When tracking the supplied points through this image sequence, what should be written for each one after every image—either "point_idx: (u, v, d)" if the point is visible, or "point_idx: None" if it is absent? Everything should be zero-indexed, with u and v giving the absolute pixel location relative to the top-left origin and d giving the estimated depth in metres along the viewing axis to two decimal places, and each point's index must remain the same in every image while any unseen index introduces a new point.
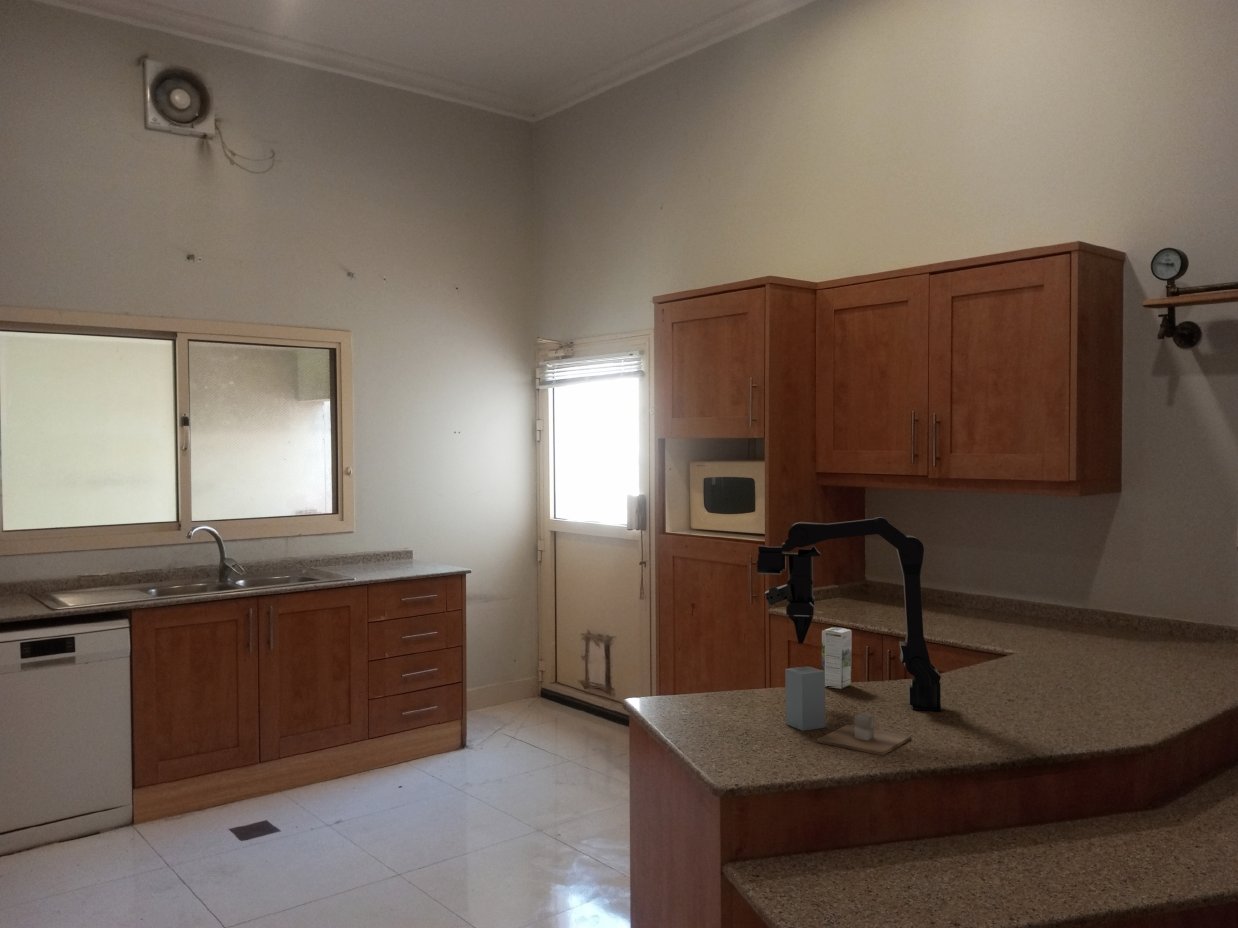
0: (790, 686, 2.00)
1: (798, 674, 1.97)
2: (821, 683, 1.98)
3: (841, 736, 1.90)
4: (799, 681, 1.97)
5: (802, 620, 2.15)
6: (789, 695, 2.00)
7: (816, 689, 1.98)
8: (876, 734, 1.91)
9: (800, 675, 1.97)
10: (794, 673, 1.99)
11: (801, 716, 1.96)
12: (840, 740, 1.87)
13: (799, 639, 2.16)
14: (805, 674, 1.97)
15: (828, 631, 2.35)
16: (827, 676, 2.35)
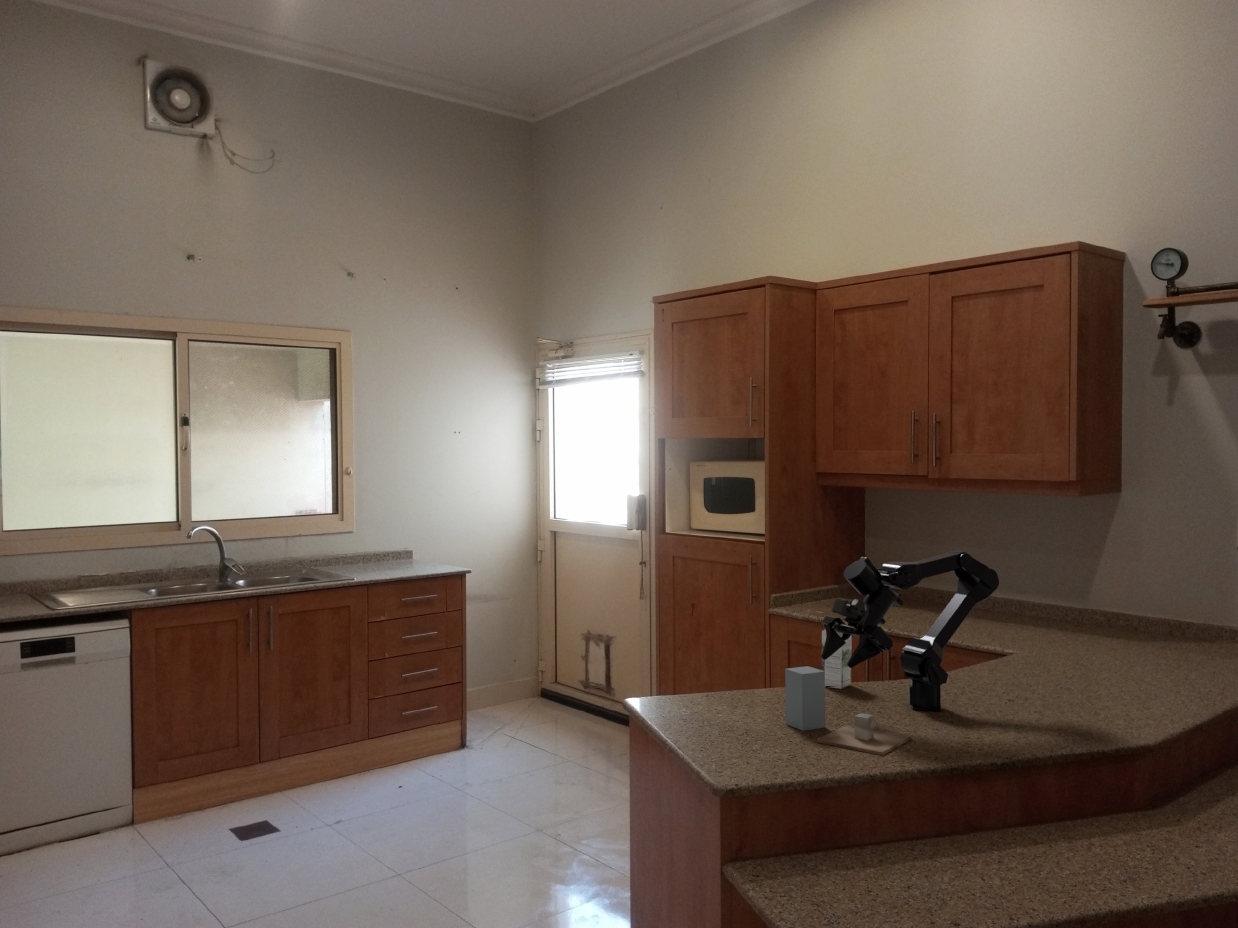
0: (790, 686, 2.00)
1: (798, 674, 1.97)
2: (821, 683, 1.98)
3: (841, 736, 1.90)
4: (799, 681, 1.97)
5: (867, 648, 2.01)
6: (789, 695, 2.00)
7: (816, 689, 1.98)
8: (876, 734, 1.91)
9: (800, 675, 1.97)
10: (794, 673, 1.99)
11: (801, 716, 1.96)
12: (840, 740, 1.87)
13: (852, 662, 2.00)
14: (805, 674, 1.97)
15: None
16: (827, 676, 2.35)
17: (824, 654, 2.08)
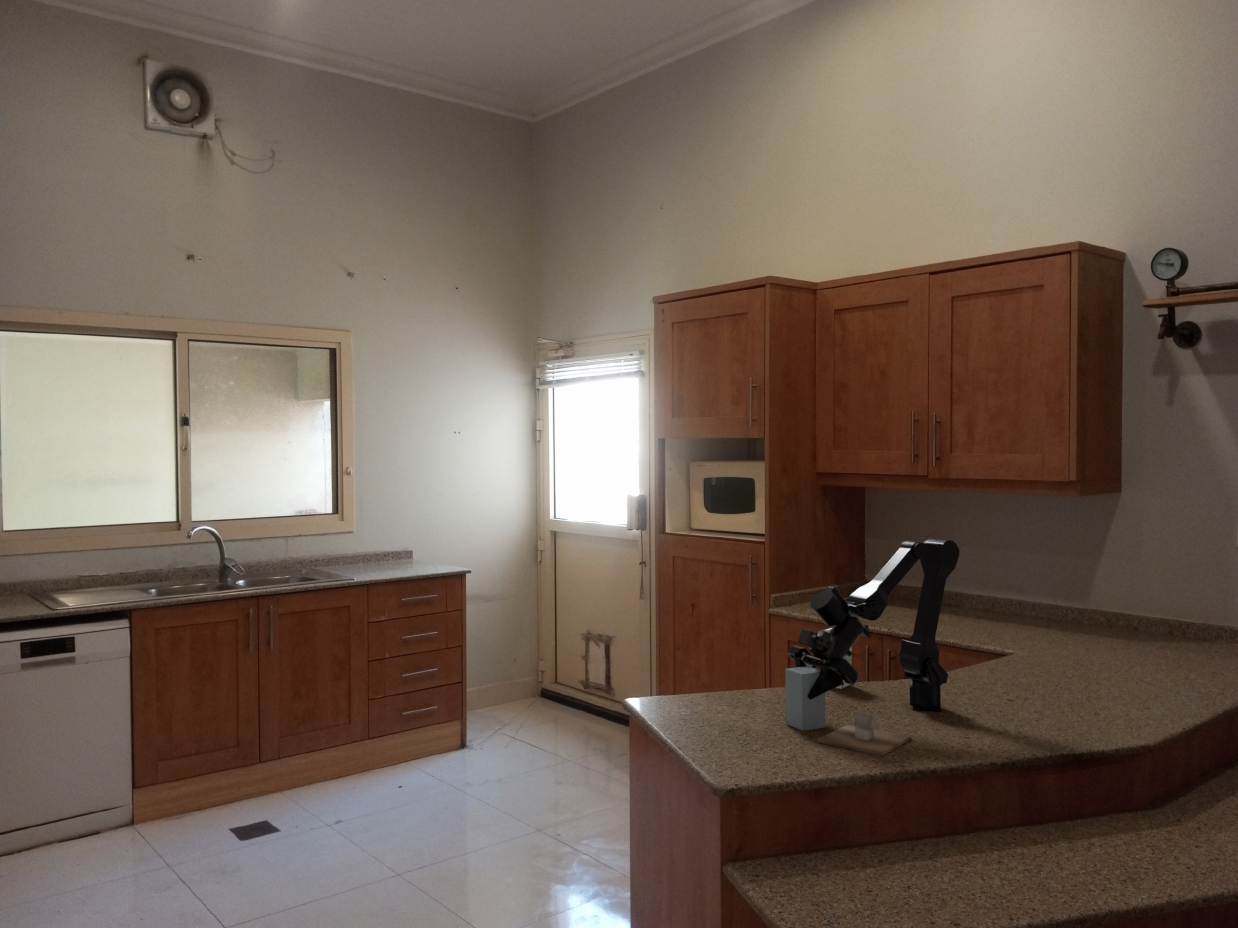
0: (790, 686, 2.00)
1: (798, 674, 1.97)
2: None
3: (841, 736, 1.90)
4: (799, 681, 1.97)
5: (828, 680, 1.97)
6: (789, 695, 2.00)
7: None
8: (876, 734, 1.91)
9: (800, 675, 1.97)
10: (794, 673, 1.98)
11: (801, 716, 1.96)
12: (840, 740, 1.87)
13: (812, 694, 1.96)
14: (805, 674, 1.97)
15: (828, 631, 2.35)
16: None
17: None
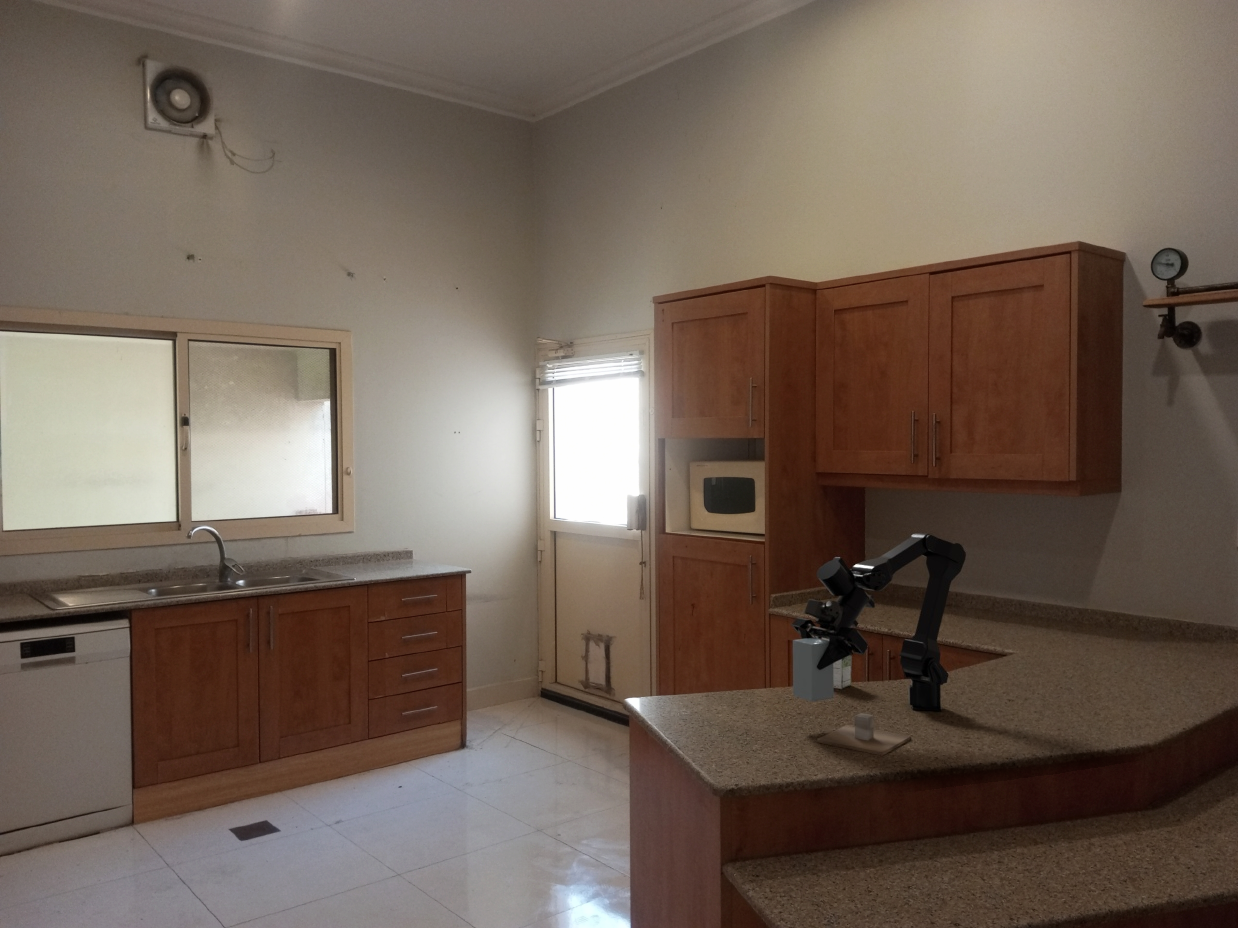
0: (798, 657, 1.97)
1: (807, 645, 1.95)
2: None
3: (841, 736, 1.90)
4: (808, 652, 1.95)
5: (837, 650, 1.95)
6: (797, 667, 1.98)
7: None
8: (876, 734, 1.91)
9: (809, 646, 1.94)
10: (803, 644, 1.96)
11: (810, 687, 1.94)
12: (840, 740, 1.87)
13: (821, 665, 1.94)
14: (814, 644, 1.94)
15: None
16: None
17: None
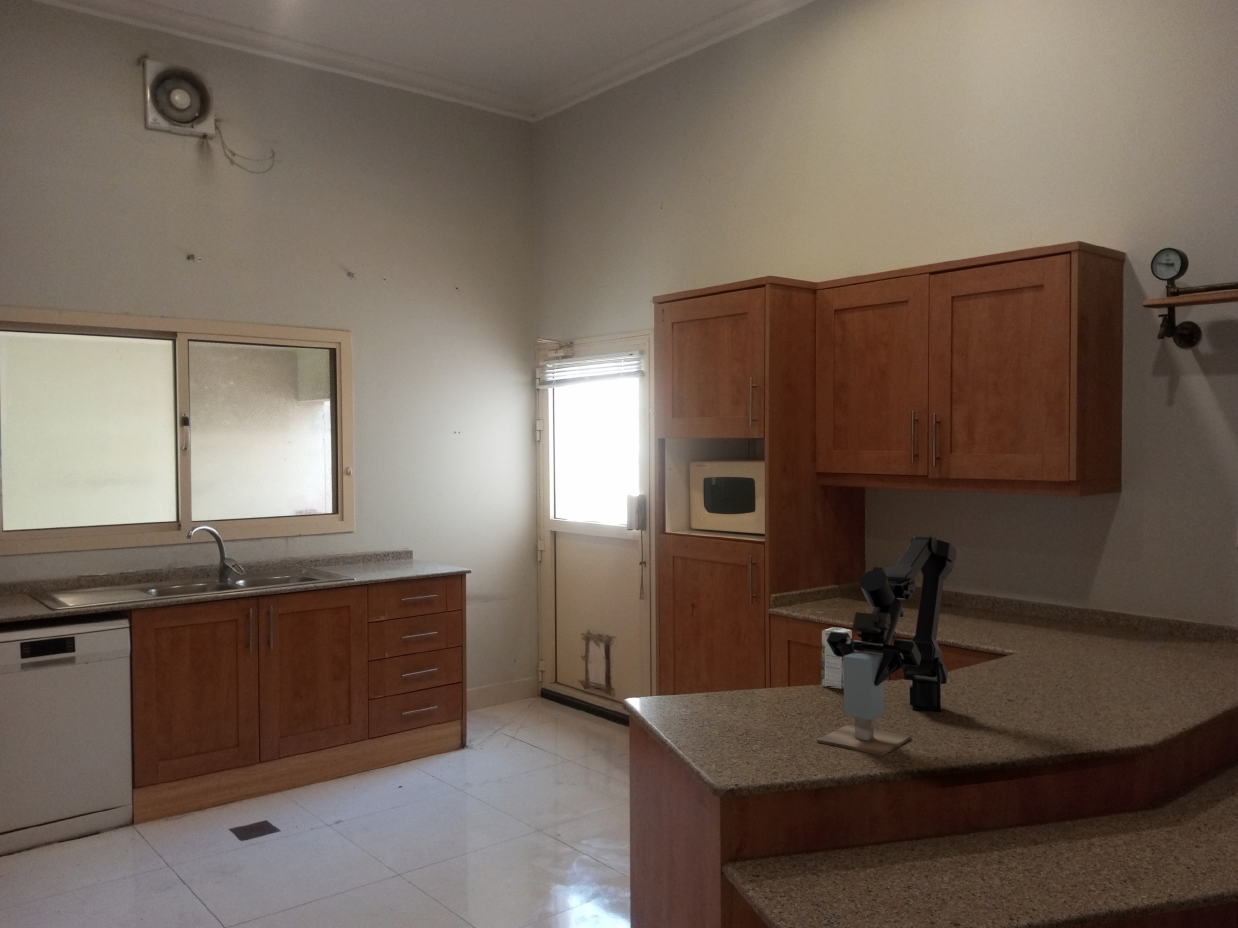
0: (851, 674, 1.87)
1: (865, 660, 1.85)
2: None
3: (841, 736, 1.90)
4: (867, 668, 1.85)
5: (890, 663, 1.88)
6: (850, 684, 1.87)
7: None
8: (876, 734, 1.91)
9: (868, 661, 1.85)
10: (858, 660, 1.86)
11: (870, 705, 1.85)
12: (840, 740, 1.87)
13: (878, 680, 1.86)
14: (872, 660, 1.85)
15: (828, 631, 2.35)
16: (827, 676, 2.35)
17: None
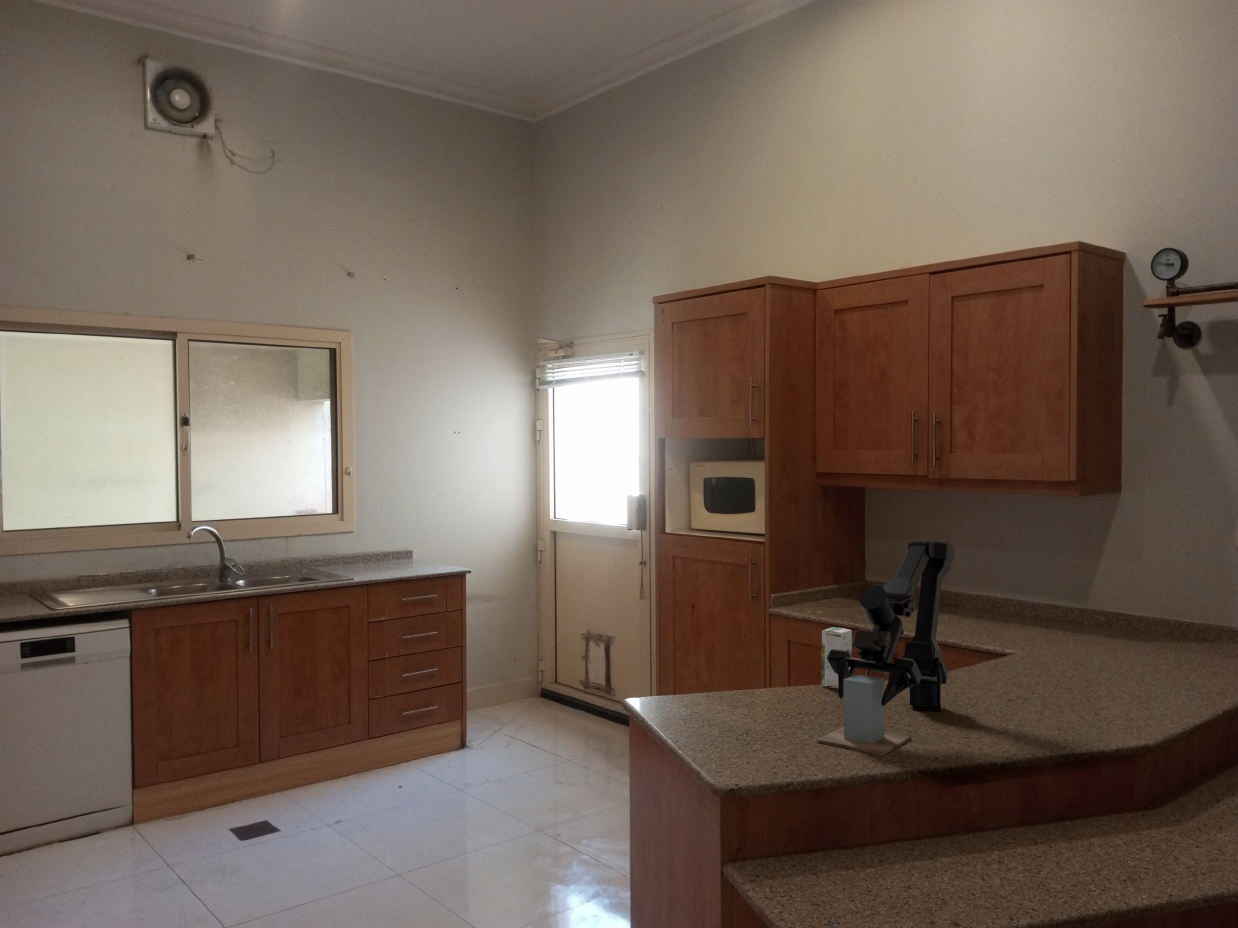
0: (852, 697, 1.87)
1: (865, 684, 1.85)
2: (882, 691, 1.88)
3: (841, 736, 1.90)
4: (867, 691, 1.85)
5: (896, 683, 1.87)
6: (850, 707, 1.87)
7: (879, 698, 1.87)
8: None
9: (868, 685, 1.85)
10: (858, 683, 1.86)
11: (870, 728, 1.85)
12: (840, 740, 1.87)
13: (885, 700, 1.85)
14: (873, 683, 1.85)
15: (828, 631, 2.35)
16: (827, 676, 2.35)
17: (841, 692, 1.91)
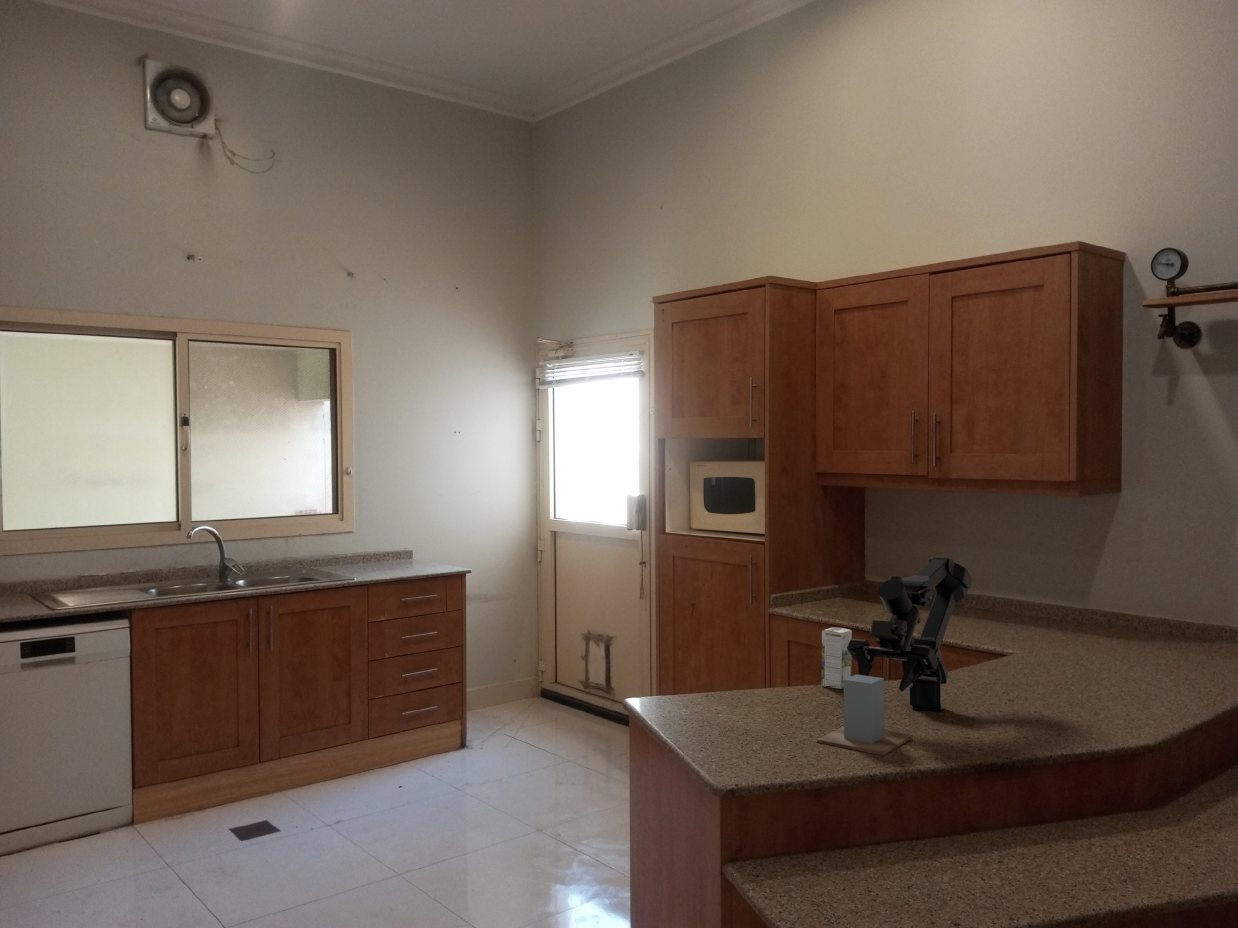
0: (852, 697, 1.87)
1: (865, 684, 1.85)
2: (882, 691, 1.88)
3: (841, 736, 1.90)
4: (867, 691, 1.85)
5: (914, 669, 1.95)
6: (850, 707, 1.87)
7: (879, 698, 1.87)
8: None
9: (868, 685, 1.85)
10: (858, 683, 1.86)
11: (870, 728, 1.85)
12: (840, 740, 1.87)
13: (903, 686, 1.93)
14: (873, 683, 1.85)
15: (828, 631, 2.35)
16: (827, 676, 2.35)
17: None
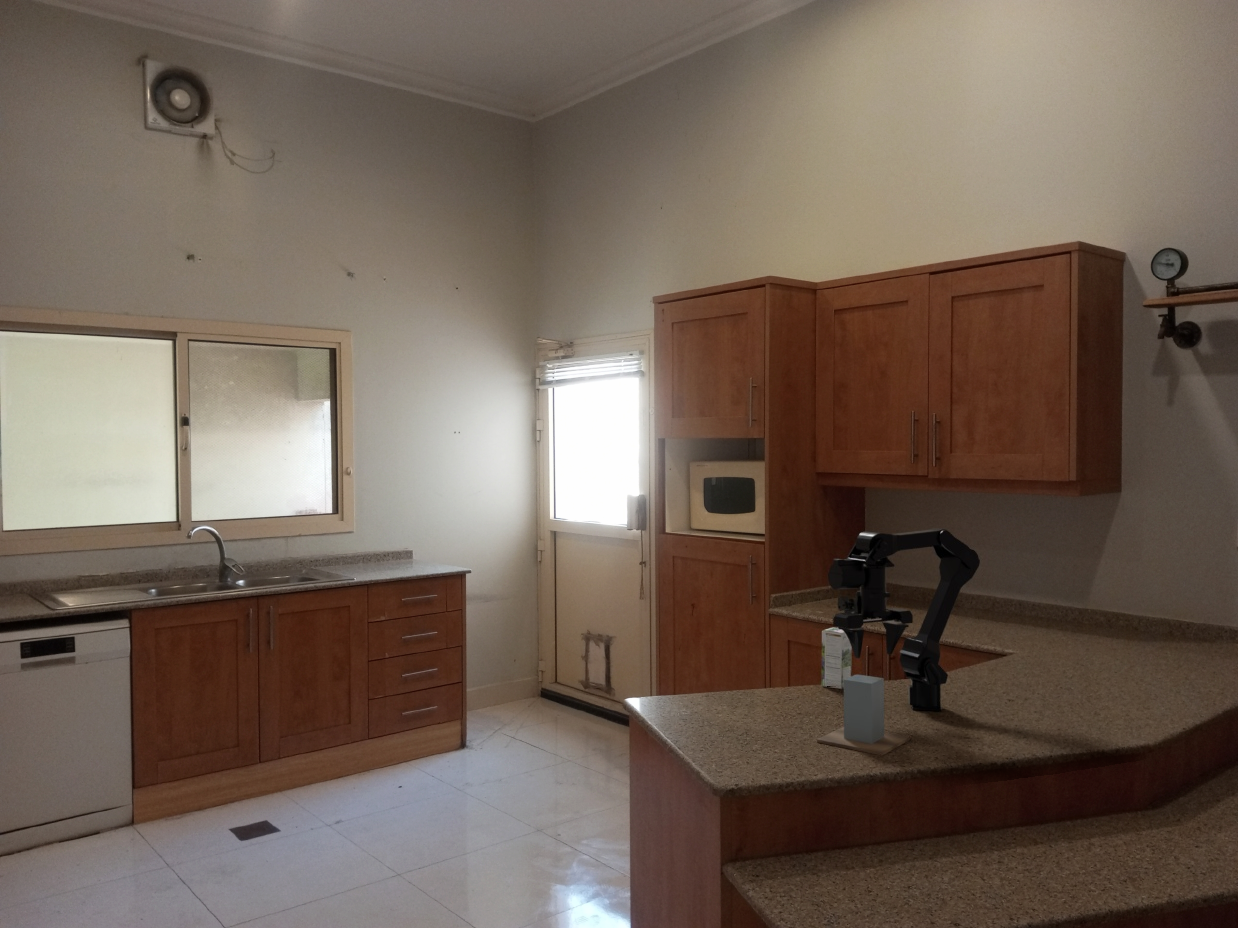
0: (852, 697, 1.87)
1: (865, 684, 1.85)
2: (882, 691, 1.88)
3: (841, 736, 1.90)
4: (867, 691, 1.85)
5: (854, 633, 2.07)
6: (850, 707, 1.87)
7: (879, 698, 1.87)
8: None
9: (868, 685, 1.85)
10: (858, 683, 1.86)
11: (870, 728, 1.85)
12: (840, 740, 1.87)
13: (855, 653, 2.07)
14: (873, 683, 1.85)
15: (828, 631, 2.35)
16: (827, 676, 2.35)
17: (887, 650, 2.12)
